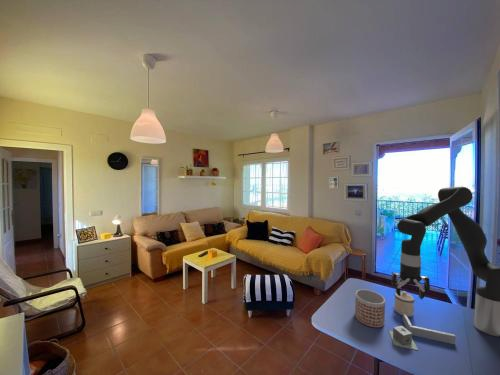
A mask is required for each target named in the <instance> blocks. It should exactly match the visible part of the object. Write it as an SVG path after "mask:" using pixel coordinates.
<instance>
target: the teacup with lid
mask: <svg viewBox="0 0 500 375" xmlns="http://www.w3.org/2000/svg"><path fill="white" fill-rule="evenodd" d="M415 301H416V300H415V298H414V297H413V295H411V294H409V293H407V291H405V290H403V291H401V295H400V296H398V294H397V293H396V292H395V293H394V311H395V312H396V313H397V314H398V315H401V316H403V313H405V314H406V315H407V317H408V318H409V317H413V316H414V310H415V308H414V307H415Z"/></svg>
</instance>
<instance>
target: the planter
mask: <svg viewBox="0 0 500 375" xmlns="http://www.w3.org/2000/svg"><path fill="white" fill-rule="evenodd" d="M354 299H355V300H354V302H355V304H354V305H355V306H354V316H355V318H356V319H357V321H358V322H360V324H363V325H364V326H367V327H369V328H376V329H377V328H382V327H384V325H385V319H386V318H385V313H386V299H385V297H384V296H383V295H381V294H380V293H378V292H376V291H373V290H370V289H364V288H362V289H358V290H356V291H355V298H354Z"/></svg>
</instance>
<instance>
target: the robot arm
mask: <svg viewBox="0 0 500 375" xmlns="http://www.w3.org/2000/svg"><path fill="white" fill-rule="evenodd" d="M473 196H474V194H473V193H472V190H471V189H470V188H468V187H466V186H452V187H443V188H440V189H439V190H438V193H437V198H438V200H439V202H436V203H433V204H429V205H427V206H426V207H424V208H422V209H421V210H419V211H418V212H416V213H414V214H411V215H408V216H405V217H403V218H402V219H400V220H399V221H398V223H397V225H396V227H397V230H398V231H399V233H401V234H404V235H407V236H411V237H410V238H409V239H408V238H407V239H406V238H405V239H403V240H401V248H400V249H401V251H400V252H401V253H400V257H399V258H400V266H399V273H396V272H394V271H392V272H391V280H390V283H391V285H392V287H395V293H397V294H398V296H400V295H401V292H402V291H401V290H402V288H401V287H403V286H405V285H407V286H408V285H410V286H416V285H417V287H418V288H419V289H418V298H419V299H420V300H423V299H424V298H425V292H426V291H427V292H430V290H431V288H430V287H431V286H430V285H431V284H430V282H431V281H430V278H429V277H428V276H427V275H421V273H422V272H421V271H422V270H421V269H422V258H421V250H422V249H421V246H422V244H423V240H424V238H425V236H426V233H427V228H426V227H430V226H431V225H433V224H434V223H435V222H437V221H438V220H440V219H441V218H442V217H444V216H445V215H448V217H449V219H450V221H451V223H452V225H453V227H454V229H455V231H456V234H457V236H458V239H459V240H460V242H461V244H462V246H463V249H464V251H465V252H466V255H467V257H468V260H469V263H470V266H471V270H472V272H473V274H474V275H475V277H477V278H478V279H480V280H481V281H484V282H485V286H481V285H480V286H476V290H475V302H474V303H475V306H474V318H473V319H474V320H473V326H474V327H475V328H476V329H477V330H479V331H480V332H482V333H484V334H487V335H490V336H493V337H500V266H498V265H496V264H492V262H490V260H489V258H487V256H486V253H485V250H486V247H487V243H488V240H487V237H486V235H485V233H484V230H483V229H482V226H481V225H480V224H479V223H478V222H476V221H475V220H474V219H472V218H471V217H470V216H468V215H467V214H466V213H465V212H463V211H462V210H461V208H462V207H465V206H467V205H469V204H470V203H471V202H472V200H473ZM398 278H399V279H398ZM397 279H398V281H397ZM421 281H423V286H422V285H421V284H420V282H421Z"/></svg>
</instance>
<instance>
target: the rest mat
mask: <svg viewBox="0 0 500 375" xmlns="http://www.w3.org/2000/svg"><path fill="white" fill-rule="evenodd" d="M388 333H389V336H390V338H391V341H392V343H393V346H398V347H401V348H406V349H408V350H409V349H410V350H414V351H419V349H418V347H417V345H416V343H415V340H414V339H413V338H412V344H409V345H405V346H402V345H401V344H400V343H399V342H398V341H396V340H395V339H394V338H393V330H388Z"/></svg>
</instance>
